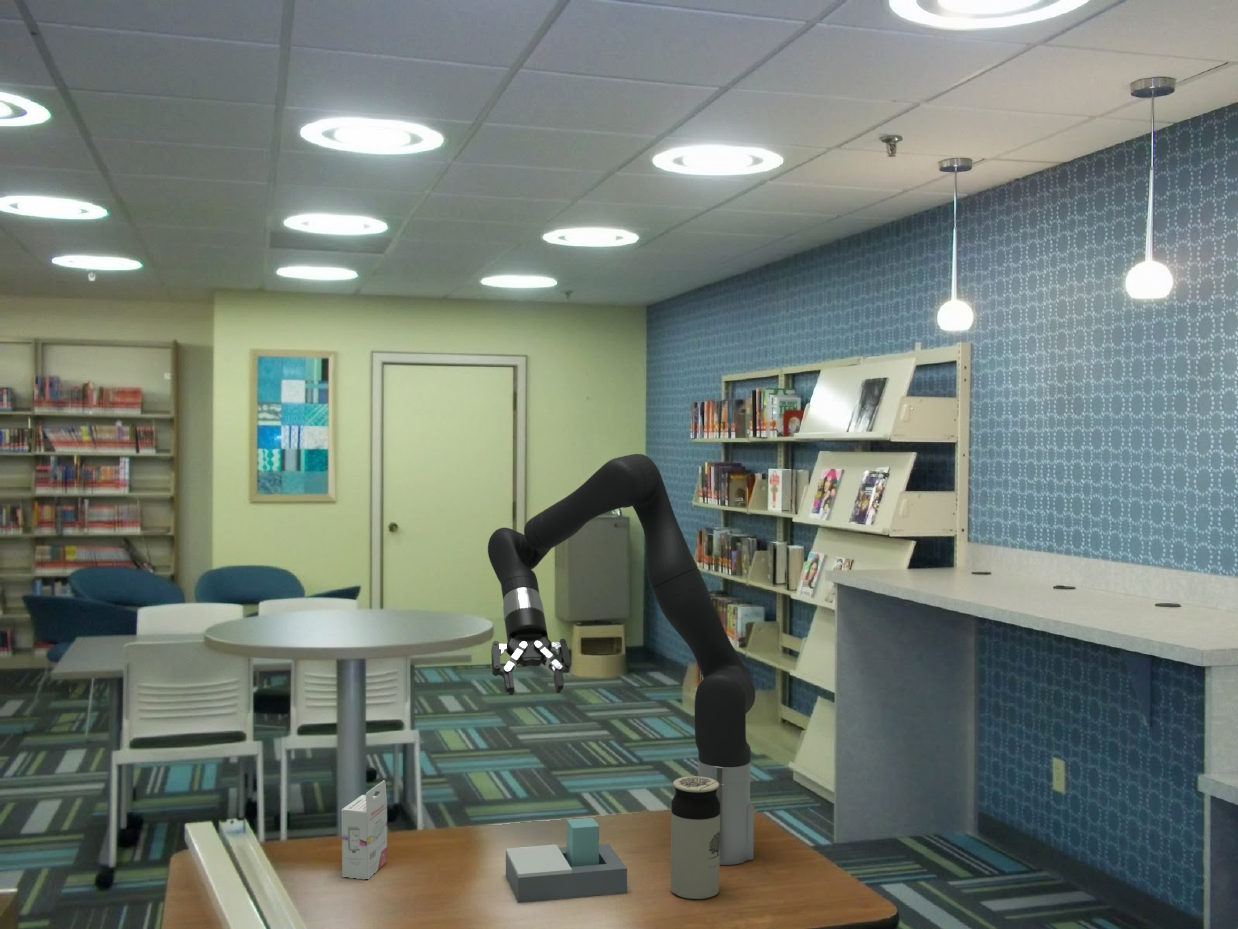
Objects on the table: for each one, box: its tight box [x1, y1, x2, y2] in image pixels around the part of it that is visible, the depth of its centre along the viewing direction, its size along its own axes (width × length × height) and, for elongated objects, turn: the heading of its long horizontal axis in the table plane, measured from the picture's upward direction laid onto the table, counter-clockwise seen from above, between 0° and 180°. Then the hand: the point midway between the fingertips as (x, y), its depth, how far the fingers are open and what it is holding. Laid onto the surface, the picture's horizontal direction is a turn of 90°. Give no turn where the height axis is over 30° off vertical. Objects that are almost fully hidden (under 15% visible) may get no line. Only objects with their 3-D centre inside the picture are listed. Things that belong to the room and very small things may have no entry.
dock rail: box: [505, 843, 628, 904], centre depth 200 cm, size 18×12×5 cm, turn 105°
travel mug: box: [670, 775, 720, 900], centre depth 197 cm, size 8×8×18 cm
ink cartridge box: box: [341, 779, 388, 880], centre depth 205 cm, size 9×5×15 cm, turn 168°
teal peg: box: [566, 817, 600, 867], centre depth 201 cm, size 4×4×10 cm
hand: (535, 691), depth 215 cm, fingers open, 8 cm apart
